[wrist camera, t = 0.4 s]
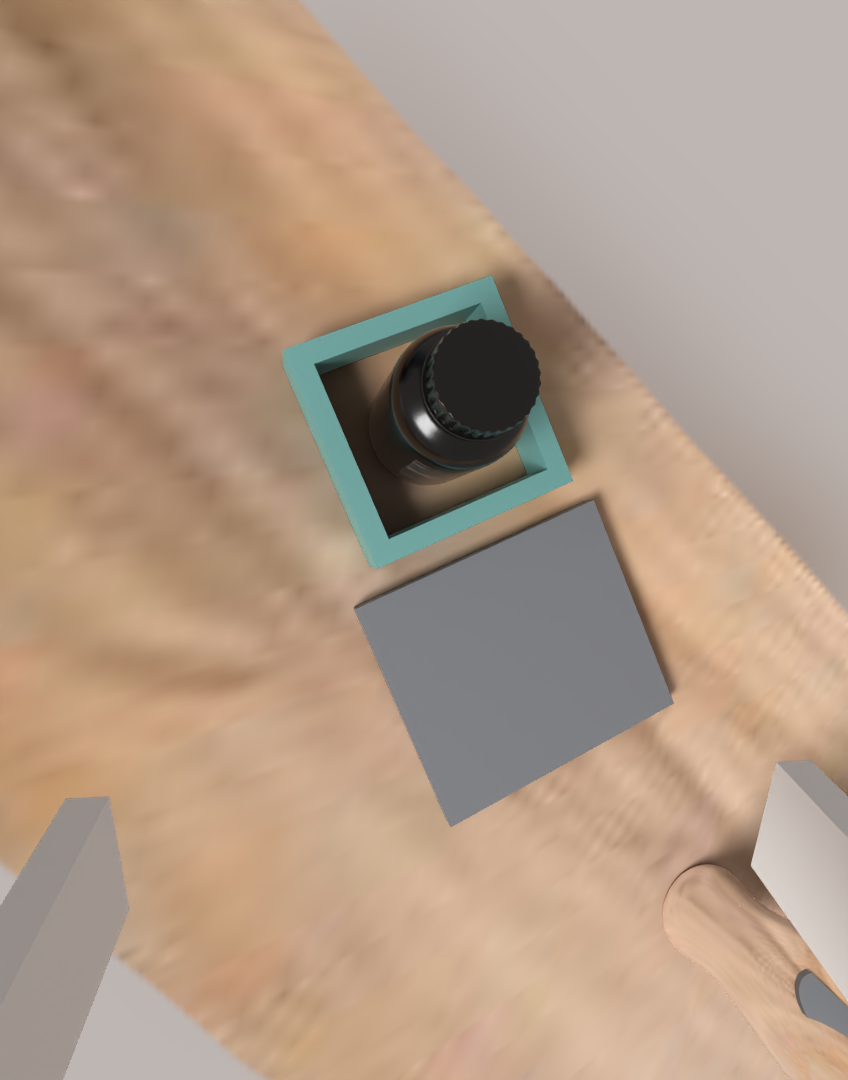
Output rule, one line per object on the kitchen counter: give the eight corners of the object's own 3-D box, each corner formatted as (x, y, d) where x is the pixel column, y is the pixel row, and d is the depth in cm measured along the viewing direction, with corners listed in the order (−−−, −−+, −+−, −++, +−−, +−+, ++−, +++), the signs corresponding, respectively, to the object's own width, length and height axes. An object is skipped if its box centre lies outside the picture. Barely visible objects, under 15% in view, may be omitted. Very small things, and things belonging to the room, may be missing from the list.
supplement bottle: (500, 427, 39) (597, 378, 27) (428, 509, 38) (495, 496, 26) (418, 346, 37) (481, 259, 26) (341, 430, 36) (371, 378, 25)
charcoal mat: (353, 607, 37) (355, 609, 36) (586, 500, 40) (593, 499, 39) (446, 819, 38) (450, 827, 37) (664, 699, 41) (673, 703, 40)
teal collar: (282, 365, 36) (283, 350, 33) (475, 295, 38) (491, 275, 35) (369, 566, 37) (377, 568, 34) (551, 485, 39) (573, 480, 36)
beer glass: (758, 933, 43) (1008, 1138, 28) (672, 980, 41) (888, 1222, 27) (731, 839, 42) (971, 997, 28) (642, 883, 41) (846, 1075, 26)
